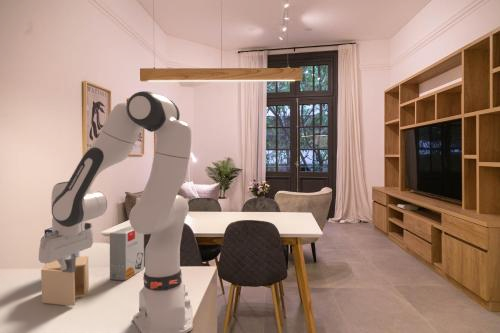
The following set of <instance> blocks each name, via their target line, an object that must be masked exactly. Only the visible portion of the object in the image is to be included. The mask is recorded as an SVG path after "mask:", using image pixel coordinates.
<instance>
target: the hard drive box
mask: <svg viewBox="0 0 500 333" xmlns="http://www.w3.org/2000/svg"><path fill="white" fill-rule="evenodd" d="M142 270H145V234H140V233H137V232H136V231H135V230H134V229H133V228H132V226H131V225H129V226H126V227H124V228H120V229H117V230H115V231H112V232H110V233H109V280H115V281H127V280H128V279H131V278H132V277H134V275H137V274H138V273H140V272H142Z"/></svg>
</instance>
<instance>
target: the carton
mask: <svg viewBox="0 0 500 333" xmlns="http://www.w3.org/2000/svg"><path fill="white" fill-rule="evenodd" d="M66 259H71V258H66ZM42 269H48V270H61V266H60V264H59V262H58V261H57V260H56V261H53V262H51V263H46V264H45V263H44V266H43V267H42ZM61 271H62V270H61ZM89 273H90V272H89V255H84V256H79V257H77V259H76V265H75V272H74V274H75V299H77V298H83V297H87V295H88V294H87V293H88V289H89V287H90V280H89V279H90V277H89Z"/></svg>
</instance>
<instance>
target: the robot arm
mask: <svg viewBox="0 0 500 333" xmlns="http://www.w3.org/2000/svg"><path fill="white" fill-rule="evenodd" d="M180 116H181V114H180V110H179V107H178V106H177V105H176V103H174V101H172V100H171V99H168V98H166V97H165V96H164V95H160V94H158V93H154V92H151V91H145V90H143V91H138V92H135V93H134V94H132V95H131V96H130V97H129V99H128V100H127V102H126V103H125V102H121V103H117V104H115V106H114V107H113V108H112V110H111V111H110V112H109V114H108V116H107V117H106V119H105V121H104V123H103V124H102V128H101V130H100V132H99V133H98V136H97V138H96V139H95V141H94V143H93V144H92V146H91V147H90V148H89V149H88V150H87V151H86V152H85V154H83V156H82V158H81V159H80V161H79V162H78V164H77V165H76V168H75V170H74V171H73V173H72V175H71V176H70V178H69V180H67V181H62V182H58V183H56V184H54V186H53V188H52V191H51V199H50V200H51V204H50V205H51V214H52V215H51V216H52V219H51V227H52V232H51V233H47V234H45V233H44V235H43V236H42V237H41V238H40V243H39V248H38V261H39V262H40V263H41V264H42V263H43V264H45V263H51V262H53V261H56V260H57V261H58V262H59V264H60V266H61V270H66V269H68V264H66V263H65V261H64V260H66V256H69V255H70V256H71V259H73V260H75V265H76V259H77V256H78V252H79V253H80V252H82V251H85V250H87V249H89V248H92V246H93V242H94V237H93V235H94V233H93V230H92V228H93V223H92V222H88V221H91V220H94V219H97V218H99V217H101V216H103V215H104V214H105V212H106V211H107V209H108V200H107V198H106V195H104V193H103V192H101V191H100V190H99V191H98V190H94V189H91V188H92V185H93V184H94V182H95V180H96V178H97V177H98V176H99V175H100V174H101V173H102V172H103V171H105V170H106V169H108V168H109V167H112V166H114V165H116V164H119V163H121V162H123V161H125V160H126V159H127V158H128V157H129V155H130V153H131V152H132V151H133V149H134V146H135V144H136V141H137V139H138V136H139V135H140V133H141V131H142V130H147V131H148V132H150V133H153V132H154V134H155V136H156V137H155V138H156V143H155V148H154V153H153V158H152V164H151V169H150V174H149V177H148V180H147V182H146V185H145V188H144V189H143V192H142V194H141V196H140V197H139V199H138V201H137V202H136V204H134V205H133V206H132V208H131V210H130V211H129V216H128V218H129V220H128V221H129V224H130V226H132V228H133V229H134V230H135V231H136V232H137V233H140V234H144V235H150V238H149V240H148V241H147V242H148V243H147V244H146V246H145V247H144V272H143V277H142V278H143V287H142V288H141V289H140V291H139V292H138V312H137V313H135V314H133V315H132V320H133V321H134V323H135V325H136V327H137V329H138V330H139V332H140V333H188V332H191V331H193V328H194V327H193V326H194V325H193V323H194V322H193V305H192V304H191V299H186V297H188V296H189V295H188V294H189V292H188V291H186V284H185V283H184V282H183V280H182V277H183V276H182V274H183V273H182V269H181V262H180V260H181V256H180V255H181V250H180V249H181V241H182V235H183V230H184V226H185V222H186V218H187V216H188V214H189V212H190V211H189V209H190V206H189V203H188V201H187V199H186V198H185V197H184V196H182V195H180V194H178V193H179V191H180V189H181V188H182V186H183V185H184V183H185V181H186V178H187V172H188V167H189V160H190V156H191V148H192V129H191V127H190V126H189V125H188V124H187V123H186V122H184V121H182V120H180Z"/></svg>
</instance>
